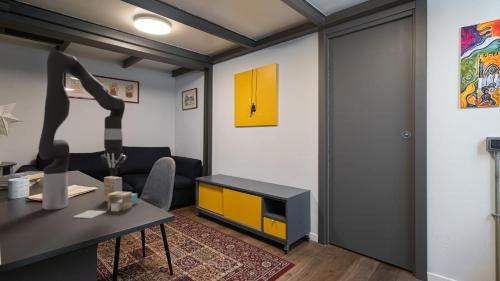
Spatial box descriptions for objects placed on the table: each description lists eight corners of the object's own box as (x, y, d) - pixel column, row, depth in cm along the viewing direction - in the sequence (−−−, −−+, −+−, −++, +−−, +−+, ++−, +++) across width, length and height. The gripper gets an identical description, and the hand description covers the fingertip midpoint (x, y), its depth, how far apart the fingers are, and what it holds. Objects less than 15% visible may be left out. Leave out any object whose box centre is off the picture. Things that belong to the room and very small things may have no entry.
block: (122, 205, 124) (122, 195, 124) (128, 202, 129) (128, 193, 129) (131, 205, 124) (131, 196, 124) (137, 203, 129) (137, 193, 129)
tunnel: (107, 209, 117) (107, 194, 116) (116, 206, 123) (116, 191, 122) (124, 210, 116) (123, 195, 115) (131, 206, 121) (131, 192, 121)
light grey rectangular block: (111, 211, 115) (111, 204, 115) (123, 205, 124) (123, 198, 124) (117, 211, 115) (117, 204, 115) (129, 206, 124) (129, 199, 124)
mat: (72, 217, 106) (72, 216, 106) (89, 211, 115) (89, 210, 115) (91, 218, 105) (91, 217, 105) (106, 212, 113) (106, 211, 113)
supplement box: (103, 201, 131) (103, 177, 131) (111, 199, 135) (111, 175, 135) (114, 203, 128) (114, 178, 127) (122, 200, 132) (122, 177, 132)
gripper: (94, 138, 111) (95, 176, 112) (120, 138, 109) (120, 177, 110) (106, 138, 119) (107, 173, 119) (131, 138, 117) (131, 174, 117)
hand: (113, 175), depth 114 cm, fingers closed
